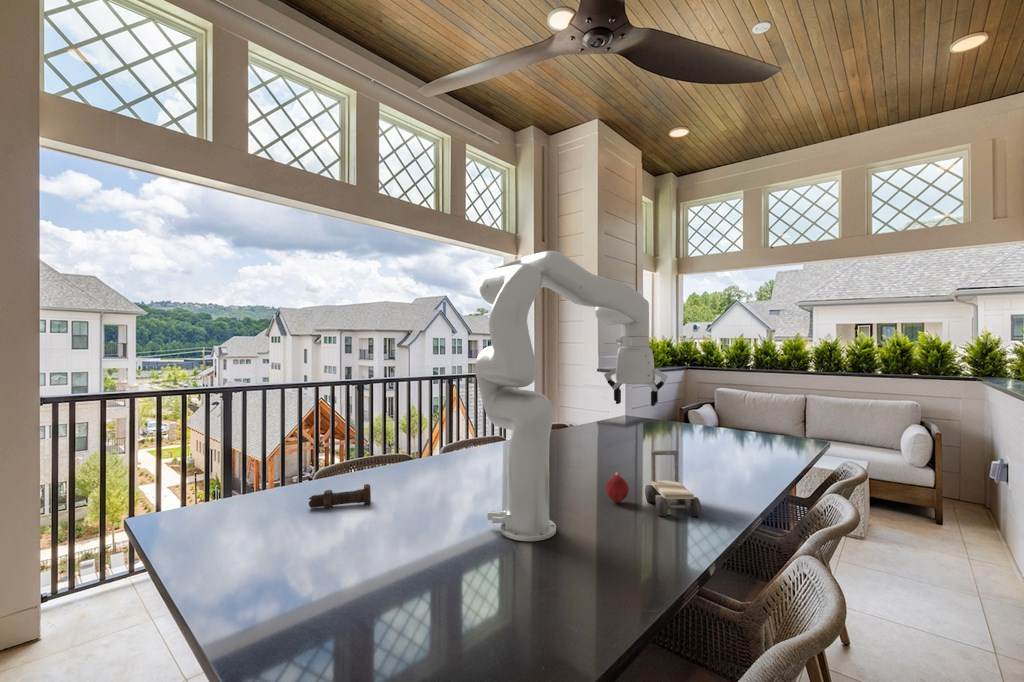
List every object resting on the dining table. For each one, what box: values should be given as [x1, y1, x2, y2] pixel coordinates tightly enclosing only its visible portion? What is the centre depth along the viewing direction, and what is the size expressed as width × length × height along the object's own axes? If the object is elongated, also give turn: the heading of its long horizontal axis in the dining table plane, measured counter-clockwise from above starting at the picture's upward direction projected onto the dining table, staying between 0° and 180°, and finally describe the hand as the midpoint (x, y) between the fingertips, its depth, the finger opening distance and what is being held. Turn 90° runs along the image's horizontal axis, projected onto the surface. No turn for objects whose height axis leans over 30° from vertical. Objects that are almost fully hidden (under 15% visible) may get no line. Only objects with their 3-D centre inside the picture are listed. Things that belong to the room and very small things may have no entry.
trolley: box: [644, 449, 702, 517], centre depth 121 cm, size 14×10×14 cm, turn 179°
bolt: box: [308, 483, 372, 510], centre depth 123 cm, size 6×5×15 cm
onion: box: [605, 472, 629, 504], centre depth 125 cm, size 6×6×8 cm
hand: (635, 404), depth 132 cm, fingers open, 9 cm apart
